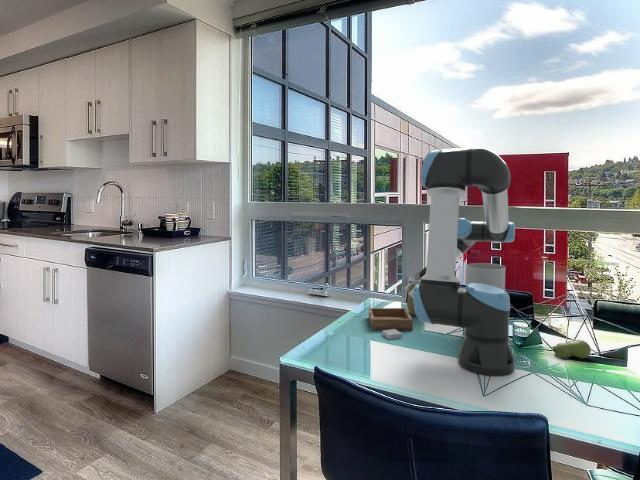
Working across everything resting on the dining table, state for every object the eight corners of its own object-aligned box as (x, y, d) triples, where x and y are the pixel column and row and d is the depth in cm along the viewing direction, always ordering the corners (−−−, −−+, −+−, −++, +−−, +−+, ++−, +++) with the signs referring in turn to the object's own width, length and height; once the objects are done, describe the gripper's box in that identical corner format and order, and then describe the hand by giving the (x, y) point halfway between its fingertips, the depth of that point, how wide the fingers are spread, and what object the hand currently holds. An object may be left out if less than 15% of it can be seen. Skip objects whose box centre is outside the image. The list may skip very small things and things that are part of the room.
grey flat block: (401, 338, 141) (401, 333, 141) (388, 340, 140) (388, 334, 139) (394, 334, 146) (395, 328, 146) (382, 335, 144) (382, 330, 144)
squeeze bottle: (405, 315, 166) (406, 273, 164) (407, 310, 174) (407, 269, 172) (426, 317, 164) (426, 273, 162) (426, 311, 172) (427, 270, 170)
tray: (412, 330, 149) (412, 319, 148) (371, 330, 149) (371, 319, 149) (405, 317, 164) (405, 308, 163) (368, 317, 164) (368, 308, 164)
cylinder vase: (462, 339, 139) (463, 267, 136) (467, 328, 150) (469, 262, 147) (501, 345, 133) (504, 270, 130) (504, 333, 144) (506, 264, 141)
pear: (592, 343, 119) (555, 346, 121) (595, 360, 119) (557, 363, 122) (585, 336, 124) (549, 339, 126) (587, 353, 124) (551, 355, 127)
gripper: (462, 266, 155) (420, 306, 158) (447, 257, 176) (410, 293, 179) (449, 252, 155) (406, 293, 157) (435, 245, 176) (398, 281, 178)
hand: (408, 293), depth 168 cm, fingers open, 8 cm apart
